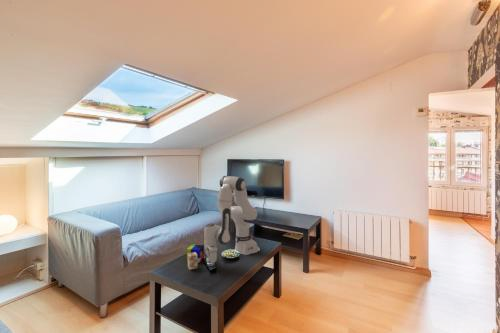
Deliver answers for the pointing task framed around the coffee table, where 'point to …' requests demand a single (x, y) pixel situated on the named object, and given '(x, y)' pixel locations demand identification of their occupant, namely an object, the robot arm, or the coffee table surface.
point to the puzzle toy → (198, 249)
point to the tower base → (192, 265)
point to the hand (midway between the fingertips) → (210, 263)
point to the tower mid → (192, 257)
